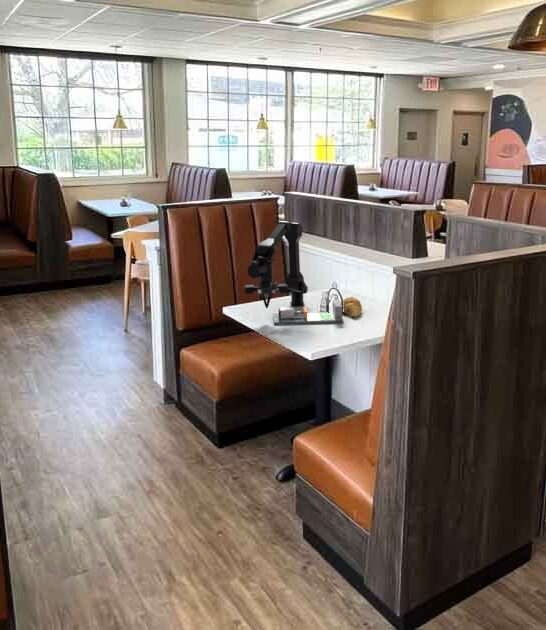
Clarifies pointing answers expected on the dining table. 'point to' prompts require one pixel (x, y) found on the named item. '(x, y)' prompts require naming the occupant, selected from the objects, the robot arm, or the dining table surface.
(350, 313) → the croissant
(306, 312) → the bar
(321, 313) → the gauge board
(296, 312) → the threaded rod block
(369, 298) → the dining table surface
